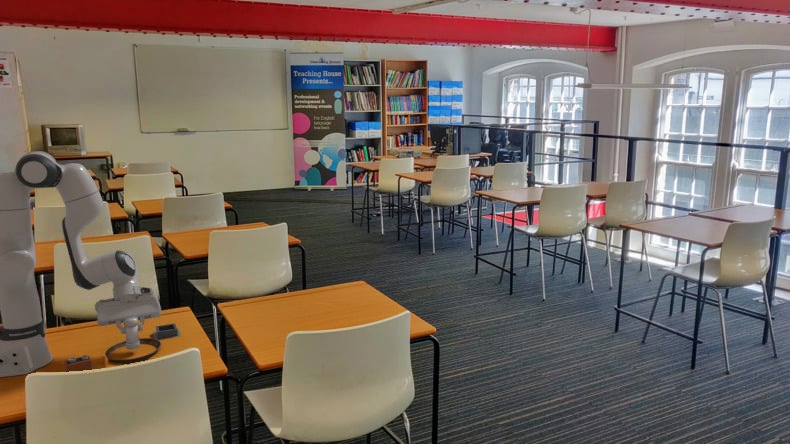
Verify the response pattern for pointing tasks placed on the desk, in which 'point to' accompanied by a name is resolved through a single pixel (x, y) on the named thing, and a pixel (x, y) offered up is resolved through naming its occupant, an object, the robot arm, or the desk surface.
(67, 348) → the desk surface
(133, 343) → the cylinder
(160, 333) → the dark grey square tray
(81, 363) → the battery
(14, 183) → the robot arm
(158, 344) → the dark grey ring
